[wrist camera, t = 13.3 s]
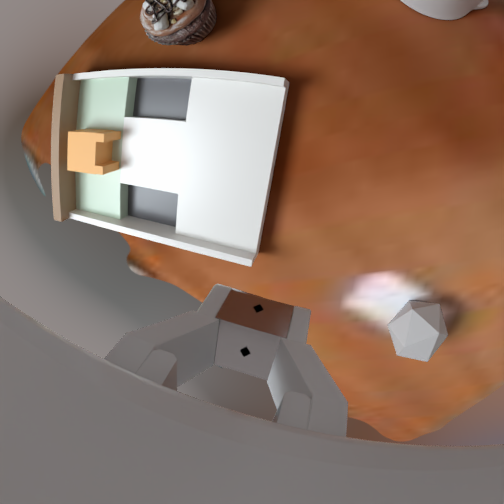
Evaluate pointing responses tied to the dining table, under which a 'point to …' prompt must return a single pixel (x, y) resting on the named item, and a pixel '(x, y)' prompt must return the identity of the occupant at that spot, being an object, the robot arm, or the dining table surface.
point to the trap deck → (173, 155)
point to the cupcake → (178, 20)
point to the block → (92, 151)
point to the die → (418, 330)
